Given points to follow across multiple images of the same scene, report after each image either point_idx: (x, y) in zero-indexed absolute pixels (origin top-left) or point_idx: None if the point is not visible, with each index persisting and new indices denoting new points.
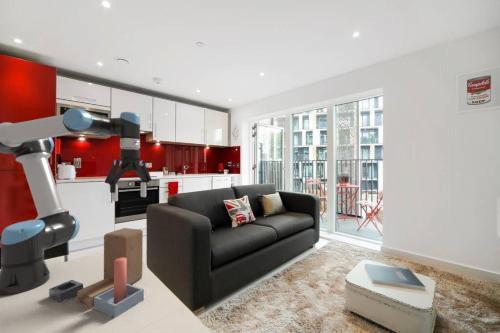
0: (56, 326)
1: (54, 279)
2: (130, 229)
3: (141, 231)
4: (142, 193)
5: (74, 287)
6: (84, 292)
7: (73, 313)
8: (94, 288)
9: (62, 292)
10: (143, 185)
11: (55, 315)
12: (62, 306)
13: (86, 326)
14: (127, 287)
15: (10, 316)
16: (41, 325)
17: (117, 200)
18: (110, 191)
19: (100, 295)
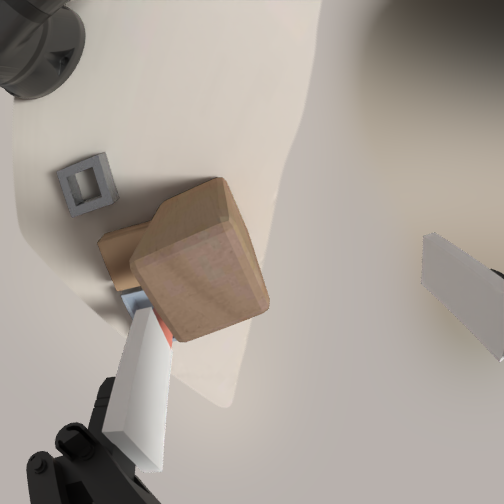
0: (75, 289)
1: (88, 66)
2: (233, 281)
3: (262, 312)
4: (439, 272)
5: (96, 207)
6: (107, 261)
7: (96, 271)
8: (126, 259)
9: (75, 214)
10: (487, 325)
11: (73, 254)
12: (82, 230)
13: (111, 322)
14: None
15: (20, 198)
16: (58, 268)
17: (169, 354)
18: (103, 393)
19: (131, 296)
